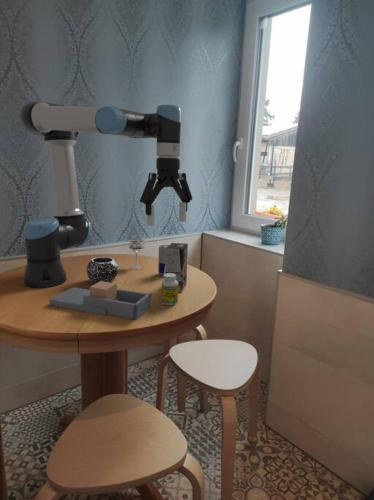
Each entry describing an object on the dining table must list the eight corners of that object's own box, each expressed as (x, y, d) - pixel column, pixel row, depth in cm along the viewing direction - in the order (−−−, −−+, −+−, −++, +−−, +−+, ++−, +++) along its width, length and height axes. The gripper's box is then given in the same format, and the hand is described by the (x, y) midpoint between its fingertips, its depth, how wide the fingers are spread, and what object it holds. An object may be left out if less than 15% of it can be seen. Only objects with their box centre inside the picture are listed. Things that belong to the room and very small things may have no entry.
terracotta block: (90, 302, 110) (89, 286, 109) (100, 295, 116) (100, 281, 114) (107, 305, 108) (106, 289, 107) (117, 298, 114) (116, 283, 113)
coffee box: (182, 292, 126) (183, 248, 122) (164, 291, 127) (165, 247, 123) (187, 284, 134) (188, 243, 130) (170, 283, 136) (171, 242, 132)
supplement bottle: (176, 299, 120) (176, 271, 118) (179, 305, 115) (179, 277, 113) (160, 299, 119) (160, 272, 116) (162, 306, 114) (163, 277, 111)
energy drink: (158, 272, 148) (158, 244, 145) (171, 272, 149) (171, 244, 146) (158, 276, 143) (158, 247, 140) (171, 276, 143) (172, 247, 140)
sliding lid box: (49, 305, 112) (48, 291, 111) (73, 292, 123) (72, 280, 122) (134, 321, 102) (134, 306, 101) (152, 306, 114) (152, 292, 112)
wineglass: (136, 264, 159) (136, 238, 156) (147, 267, 155) (147, 240, 152) (125, 267, 153) (125, 240, 150) (136, 270, 150) (136, 243, 147)
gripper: (142, 156, 102) (142, 228, 107) (204, 158, 118) (201, 221, 124) (128, 155, 107) (129, 224, 113) (189, 158, 124) (187, 218, 129)
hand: (167, 223), depth 118 cm, fingers open, 13 cm apart
